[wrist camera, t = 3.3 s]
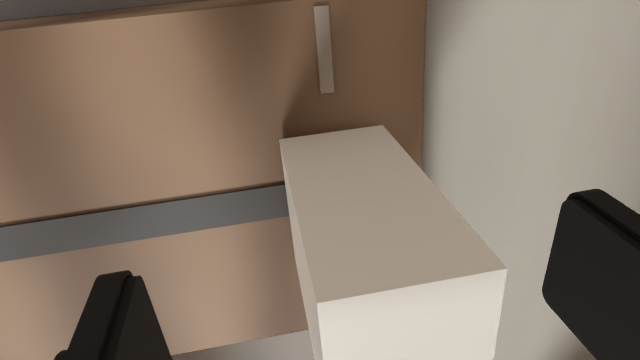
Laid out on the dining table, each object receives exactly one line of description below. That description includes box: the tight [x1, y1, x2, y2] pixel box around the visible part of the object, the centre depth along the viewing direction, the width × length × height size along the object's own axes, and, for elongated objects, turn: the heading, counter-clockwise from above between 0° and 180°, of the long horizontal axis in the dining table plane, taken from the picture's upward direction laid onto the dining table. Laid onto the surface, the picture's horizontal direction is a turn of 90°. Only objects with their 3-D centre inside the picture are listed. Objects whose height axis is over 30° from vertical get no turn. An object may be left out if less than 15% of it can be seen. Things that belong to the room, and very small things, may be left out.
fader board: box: [0, 0, 426, 360], centre depth 15 cm, size 22×12×3 cm, turn 94°
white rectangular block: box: [279, 125, 507, 360], centre depth 11 cm, size 3×4×7 cm
